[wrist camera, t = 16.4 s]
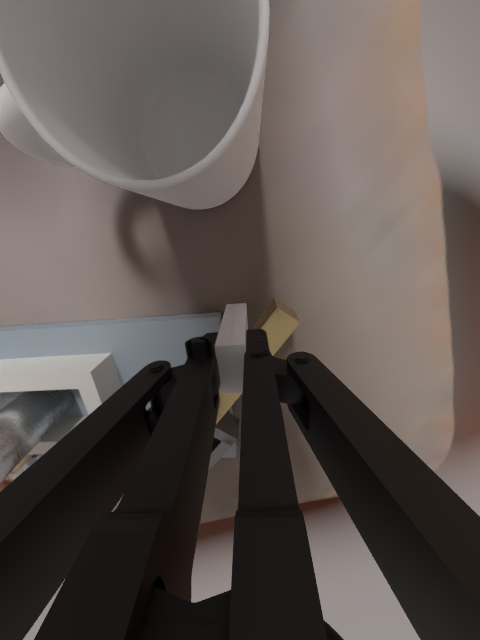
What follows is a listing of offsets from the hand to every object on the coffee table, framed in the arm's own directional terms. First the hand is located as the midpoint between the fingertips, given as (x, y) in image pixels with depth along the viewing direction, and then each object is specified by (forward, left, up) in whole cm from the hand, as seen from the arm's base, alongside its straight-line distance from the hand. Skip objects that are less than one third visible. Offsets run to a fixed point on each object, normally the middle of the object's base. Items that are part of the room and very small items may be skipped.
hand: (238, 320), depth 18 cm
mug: (-12, -4, -3) cm, 13 cm away
